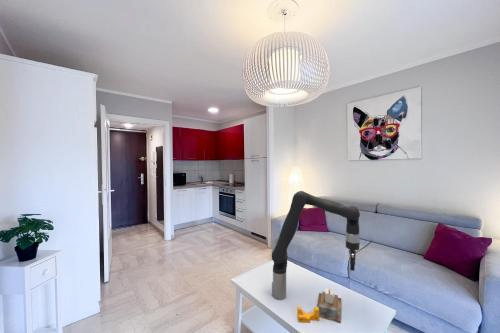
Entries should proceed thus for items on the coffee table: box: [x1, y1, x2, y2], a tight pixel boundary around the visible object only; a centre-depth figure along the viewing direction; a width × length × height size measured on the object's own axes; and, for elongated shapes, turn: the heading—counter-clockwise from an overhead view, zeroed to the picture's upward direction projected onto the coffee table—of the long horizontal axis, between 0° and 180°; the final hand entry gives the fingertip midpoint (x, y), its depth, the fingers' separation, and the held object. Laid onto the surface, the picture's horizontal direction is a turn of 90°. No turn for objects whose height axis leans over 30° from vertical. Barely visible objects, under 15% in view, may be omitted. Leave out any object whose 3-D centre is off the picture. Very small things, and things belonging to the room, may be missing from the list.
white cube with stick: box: [324, 287, 335, 304], centre depth 139 cm, size 5×6×8 cm
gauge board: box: [316, 291, 342, 324], centre depth 134 cm, size 14×22×6 cm, turn 156°
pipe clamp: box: [296, 305, 320, 323], centre depth 124 cm, size 12×4×6 cm, turn 86°
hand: (352, 266), depth 128 cm, fingers open, 8 cm apart
